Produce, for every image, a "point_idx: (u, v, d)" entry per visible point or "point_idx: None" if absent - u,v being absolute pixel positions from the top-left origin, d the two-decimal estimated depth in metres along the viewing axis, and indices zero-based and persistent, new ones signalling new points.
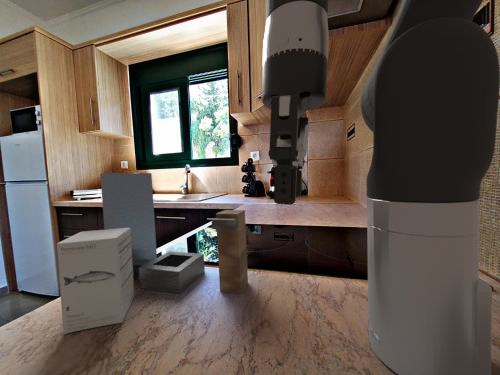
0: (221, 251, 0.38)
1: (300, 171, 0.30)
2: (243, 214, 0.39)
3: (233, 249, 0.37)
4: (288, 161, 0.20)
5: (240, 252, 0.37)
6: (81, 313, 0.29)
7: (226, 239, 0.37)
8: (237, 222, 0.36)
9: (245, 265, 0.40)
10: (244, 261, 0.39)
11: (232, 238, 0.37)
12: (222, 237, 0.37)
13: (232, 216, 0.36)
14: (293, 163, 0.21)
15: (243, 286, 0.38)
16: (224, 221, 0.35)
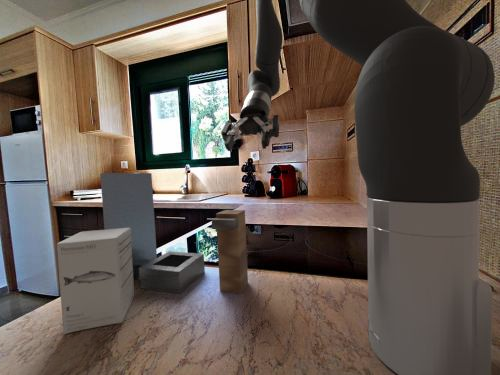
0: (221, 251, 0.38)
1: (263, 132, 0.49)
2: (243, 214, 0.39)
3: (233, 249, 0.37)
4: (224, 136, 0.53)
5: (240, 252, 0.37)
6: (81, 313, 0.29)
7: (226, 239, 0.37)
8: (237, 222, 0.36)
9: (245, 265, 0.40)
10: (244, 261, 0.39)
11: (232, 238, 0.37)
12: (222, 237, 0.37)
13: (232, 216, 0.36)
14: (227, 134, 0.52)
15: (243, 286, 0.38)
16: (224, 221, 0.35)
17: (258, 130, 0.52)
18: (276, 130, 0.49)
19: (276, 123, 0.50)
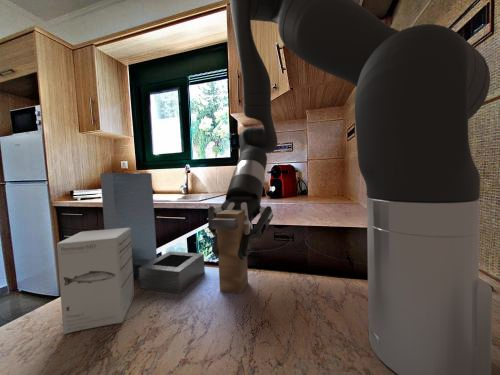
0: (221, 251, 0.38)
1: None
2: (243, 214, 0.39)
3: (233, 249, 0.37)
4: (212, 232, 0.41)
5: None
6: (81, 313, 0.29)
7: (226, 239, 0.37)
8: (237, 222, 0.36)
9: (245, 265, 0.40)
10: (244, 261, 0.39)
11: (232, 238, 0.37)
12: (222, 237, 0.37)
13: (232, 216, 0.36)
14: (216, 232, 0.40)
15: (244, 286, 0.38)
16: (224, 221, 0.35)
17: None
18: (257, 233, 0.38)
19: (261, 222, 0.39)
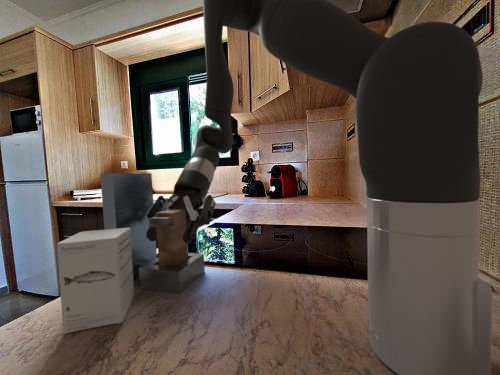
0: (160, 247, 0.41)
1: None
2: (183, 213, 0.43)
3: (170, 244, 0.41)
4: None
5: (177, 247, 0.41)
6: (81, 313, 0.29)
7: (164, 236, 0.41)
8: (173, 221, 0.40)
9: (185, 259, 0.44)
10: (184, 256, 0.43)
11: (169, 235, 0.41)
12: (160, 234, 0.41)
13: (169, 215, 0.40)
14: None
15: None
16: (159, 219, 0.39)
17: (188, 213, 0.45)
18: (204, 219, 0.42)
19: (206, 209, 0.43)
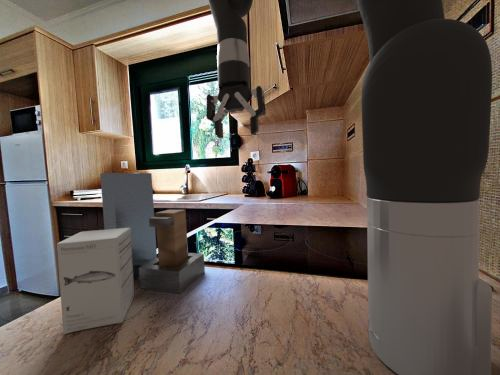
0: (160, 247, 0.41)
1: (250, 118, 0.49)
2: (183, 213, 0.43)
3: (170, 245, 0.41)
4: (211, 120, 0.52)
5: (177, 247, 0.41)
6: (81, 313, 0.29)
7: (164, 236, 0.41)
8: (173, 221, 0.40)
9: (185, 259, 0.44)
10: (184, 256, 0.43)
11: (169, 235, 0.41)
12: (160, 234, 0.41)
13: (169, 215, 0.40)
14: (214, 120, 0.52)
15: None
16: (159, 219, 0.39)
17: (243, 108, 0.50)
18: (262, 112, 0.48)
19: (261, 102, 0.48)
